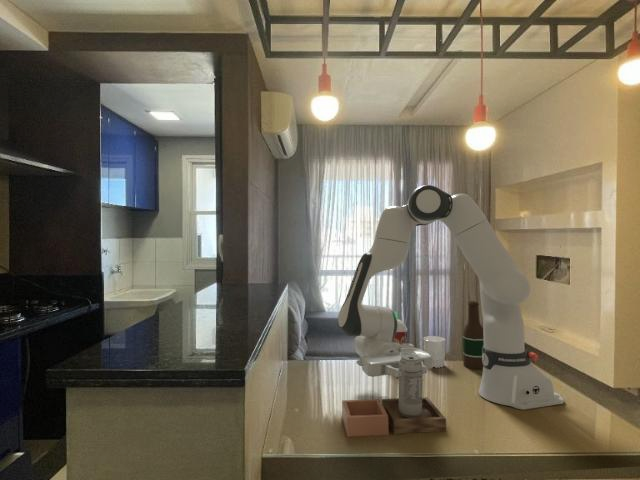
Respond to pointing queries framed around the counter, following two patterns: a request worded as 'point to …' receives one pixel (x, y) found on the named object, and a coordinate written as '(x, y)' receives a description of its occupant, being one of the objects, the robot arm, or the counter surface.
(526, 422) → the counter surface
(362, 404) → the holder
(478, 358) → the beer bottle
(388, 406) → the tray
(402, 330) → the smoothie
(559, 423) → the counter surface
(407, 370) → the energy drink can
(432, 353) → the white cup
